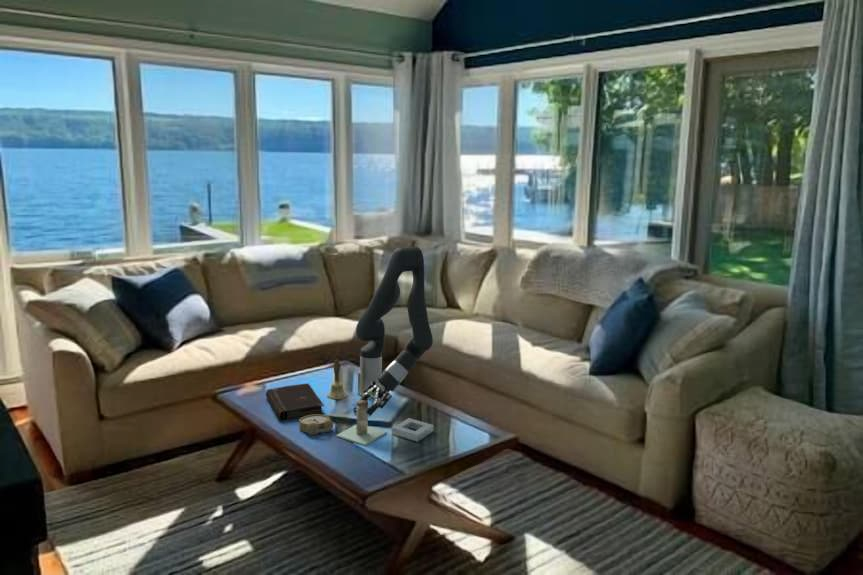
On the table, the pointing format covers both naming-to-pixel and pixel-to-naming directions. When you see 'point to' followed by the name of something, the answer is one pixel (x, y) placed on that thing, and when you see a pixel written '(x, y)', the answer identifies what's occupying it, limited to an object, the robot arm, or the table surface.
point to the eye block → (405, 431)
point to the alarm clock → (315, 424)
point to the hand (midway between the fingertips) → (363, 409)
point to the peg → (362, 417)
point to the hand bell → (336, 385)
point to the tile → (363, 440)
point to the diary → (294, 401)
